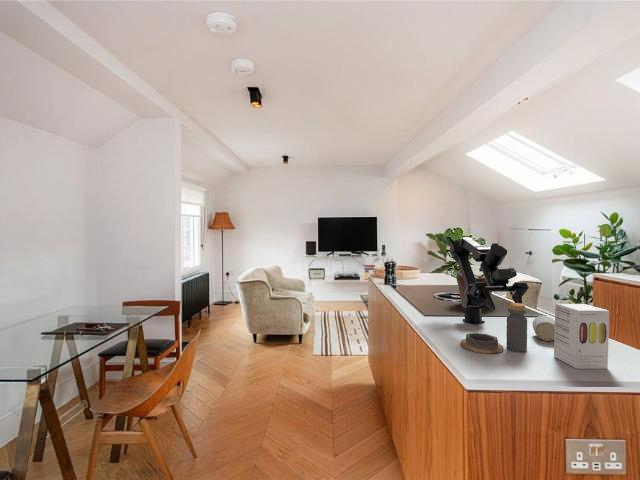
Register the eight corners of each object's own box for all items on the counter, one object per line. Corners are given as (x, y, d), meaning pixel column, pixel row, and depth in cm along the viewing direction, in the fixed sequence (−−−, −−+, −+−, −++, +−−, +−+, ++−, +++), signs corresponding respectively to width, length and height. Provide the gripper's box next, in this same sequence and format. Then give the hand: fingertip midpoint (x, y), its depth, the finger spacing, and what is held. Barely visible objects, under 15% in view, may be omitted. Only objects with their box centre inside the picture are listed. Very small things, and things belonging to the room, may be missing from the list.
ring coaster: (479, 338, 120) (480, 329, 120) (512, 350, 108) (512, 340, 108) (452, 343, 115) (452, 334, 115) (483, 356, 103) (483, 346, 103)
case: (504, 309, 164) (504, 273, 164) (464, 309, 164) (463, 273, 164) (486, 301, 182) (486, 269, 181) (450, 302, 182) (450, 269, 182)
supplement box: (575, 369, 93) (576, 310, 93) (552, 356, 103) (553, 303, 102) (609, 369, 93) (610, 310, 93) (583, 356, 103) (584, 302, 102)
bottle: (502, 346, 112) (502, 302, 112) (518, 345, 113) (519, 302, 112) (514, 352, 106) (514, 306, 106) (531, 352, 107) (531, 306, 106)
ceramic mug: (534, 340, 118) (535, 319, 117) (532, 334, 125) (532, 314, 125) (571, 345, 113) (572, 323, 113) (566, 338, 120) (567, 317, 120)
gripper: (474, 260, 120) (488, 296, 109) (526, 260, 119) (546, 296, 108) (464, 278, 128) (477, 314, 117) (513, 278, 127) (531, 314, 117)
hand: (507, 309), depth 115 cm, fingers open, 9 cm apart
